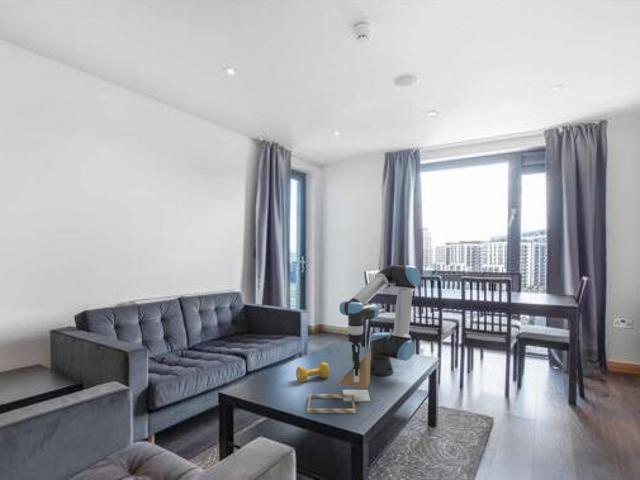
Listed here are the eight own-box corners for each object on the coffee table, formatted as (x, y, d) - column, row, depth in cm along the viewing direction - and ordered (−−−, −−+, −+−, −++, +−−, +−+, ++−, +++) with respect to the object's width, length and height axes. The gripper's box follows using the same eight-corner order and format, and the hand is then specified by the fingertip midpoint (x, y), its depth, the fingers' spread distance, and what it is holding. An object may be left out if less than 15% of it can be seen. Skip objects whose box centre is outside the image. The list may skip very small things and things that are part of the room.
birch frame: (353, 397, 181) (353, 394, 181) (355, 413, 164) (355, 409, 164) (309, 397, 182) (309, 394, 182) (306, 412, 165) (306, 409, 165)
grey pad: (367, 391, 189) (367, 389, 189) (370, 401, 176) (370, 400, 176) (342, 390, 189) (342, 389, 189) (343, 401, 176) (343, 400, 176)
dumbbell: (300, 385, 198) (300, 370, 198) (294, 379, 206) (294, 365, 206) (331, 379, 207) (331, 364, 207) (323, 374, 215) (323, 360, 215)
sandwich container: (341, 378, 190) (341, 349, 191) (370, 382, 184) (370, 352, 185) (336, 384, 182) (336, 353, 183) (366, 388, 176) (366, 357, 177)
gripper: (347, 328, 195) (347, 370, 194) (349, 338, 173) (349, 386, 172) (361, 328, 194) (361, 370, 194) (365, 338, 172) (365, 386, 172)
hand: (355, 378), depth 183 cm, fingers closed on sandwich container, 9 cm apart
